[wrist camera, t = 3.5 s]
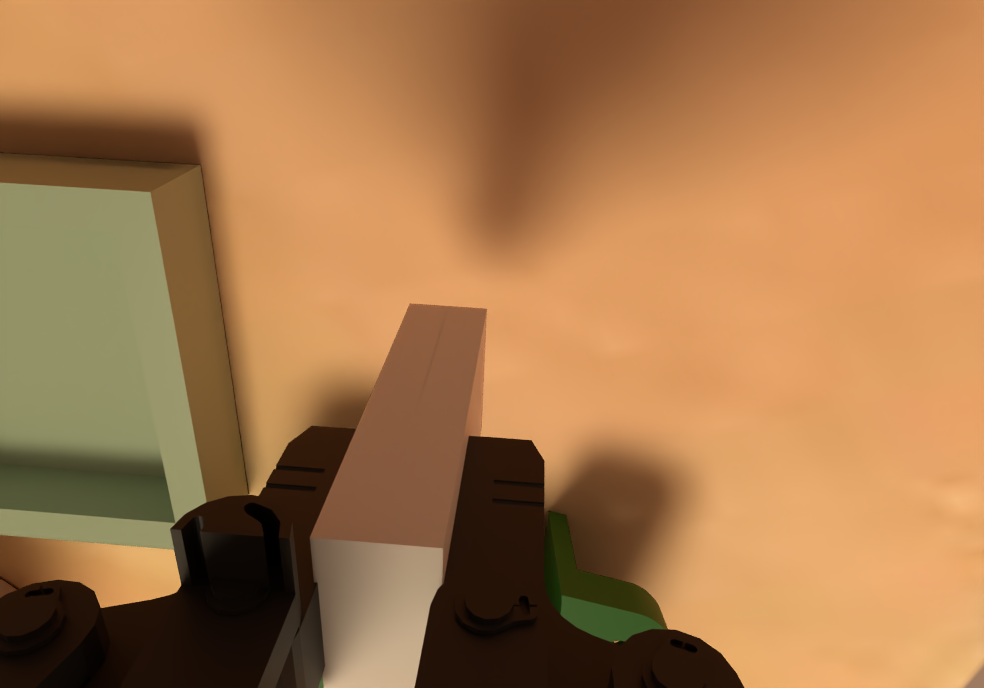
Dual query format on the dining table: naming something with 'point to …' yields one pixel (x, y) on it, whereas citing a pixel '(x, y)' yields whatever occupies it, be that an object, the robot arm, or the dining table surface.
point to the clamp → (592, 593)
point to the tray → (110, 352)
